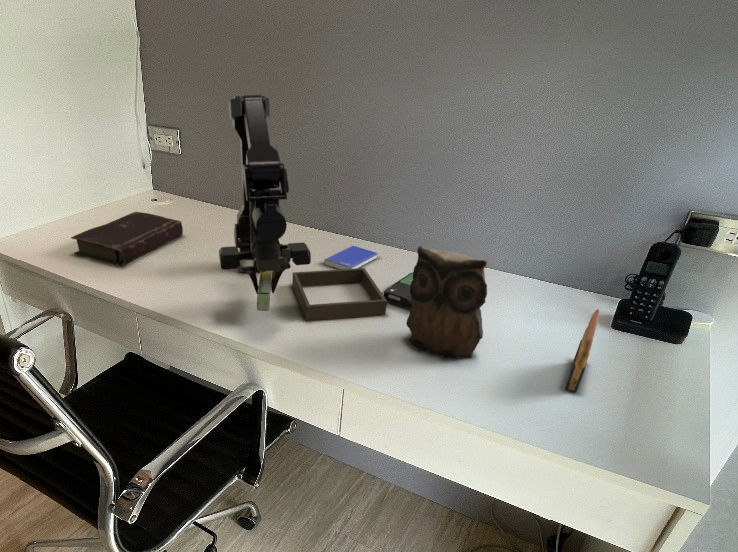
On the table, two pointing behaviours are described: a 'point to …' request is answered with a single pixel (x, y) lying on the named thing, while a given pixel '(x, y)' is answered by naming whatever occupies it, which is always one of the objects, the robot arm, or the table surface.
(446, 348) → the owl
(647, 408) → the table surface
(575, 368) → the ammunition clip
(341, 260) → the hard drive
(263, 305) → the medication box
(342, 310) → the storage box
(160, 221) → the diary
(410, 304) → the disk drive
